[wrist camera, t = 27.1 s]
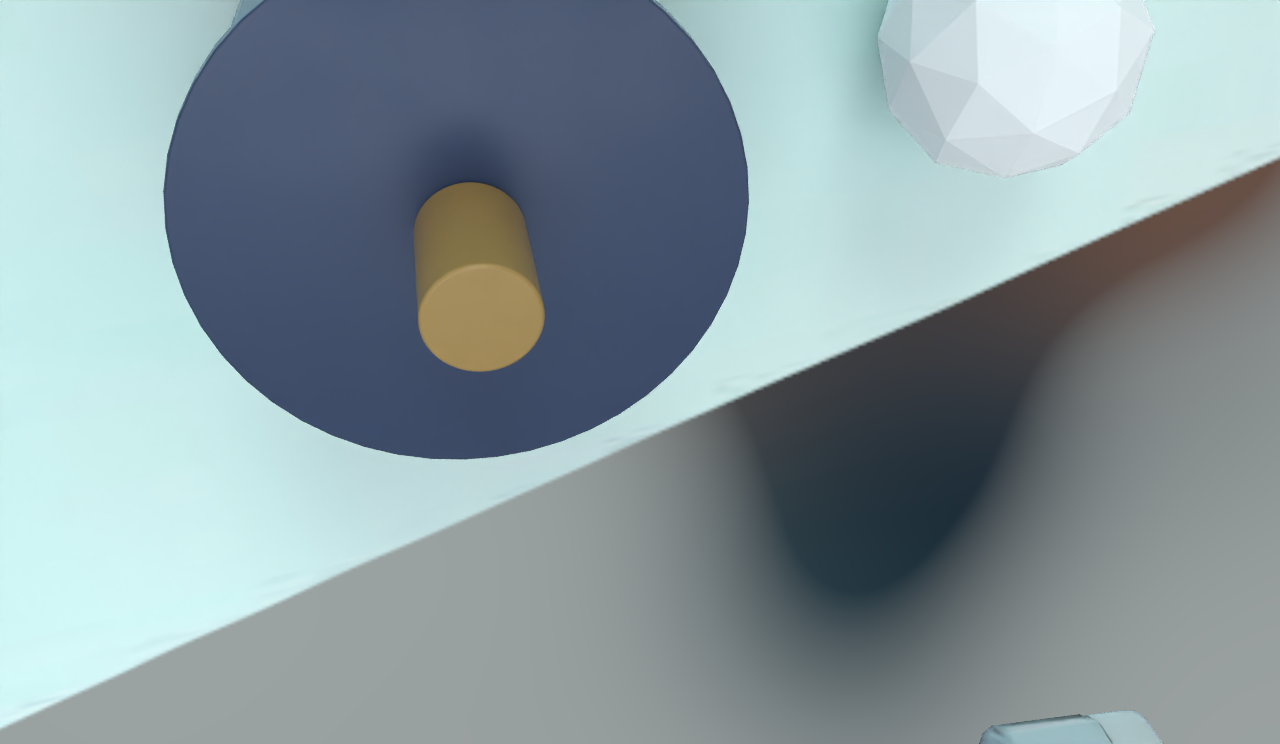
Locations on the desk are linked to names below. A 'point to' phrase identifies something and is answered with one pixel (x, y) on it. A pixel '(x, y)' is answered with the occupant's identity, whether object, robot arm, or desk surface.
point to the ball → (1011, 77)
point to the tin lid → (455, 213)
